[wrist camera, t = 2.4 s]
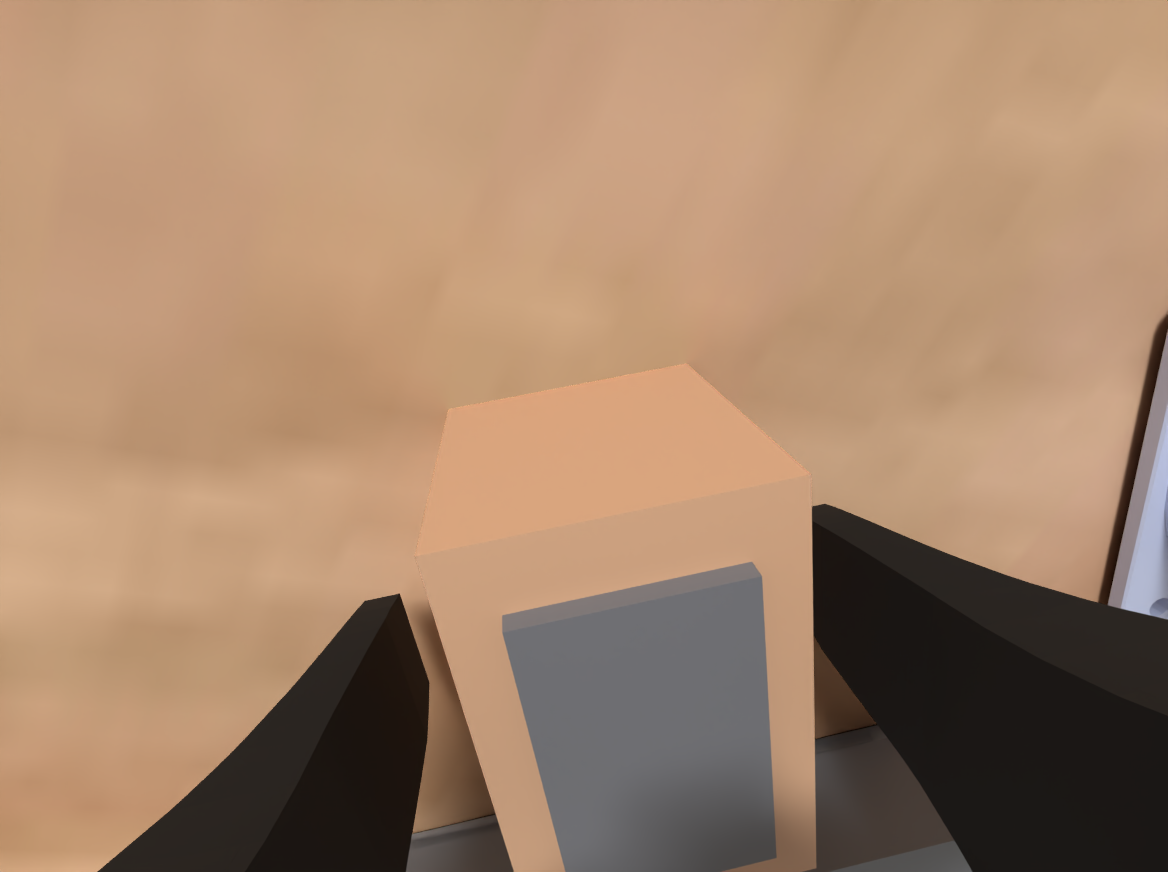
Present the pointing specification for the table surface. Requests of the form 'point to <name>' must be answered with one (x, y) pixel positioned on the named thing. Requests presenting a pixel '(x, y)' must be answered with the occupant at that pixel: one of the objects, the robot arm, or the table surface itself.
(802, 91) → the table surface
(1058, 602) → the robot arm
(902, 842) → the grey divided tray
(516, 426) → the block
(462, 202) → the table surface
